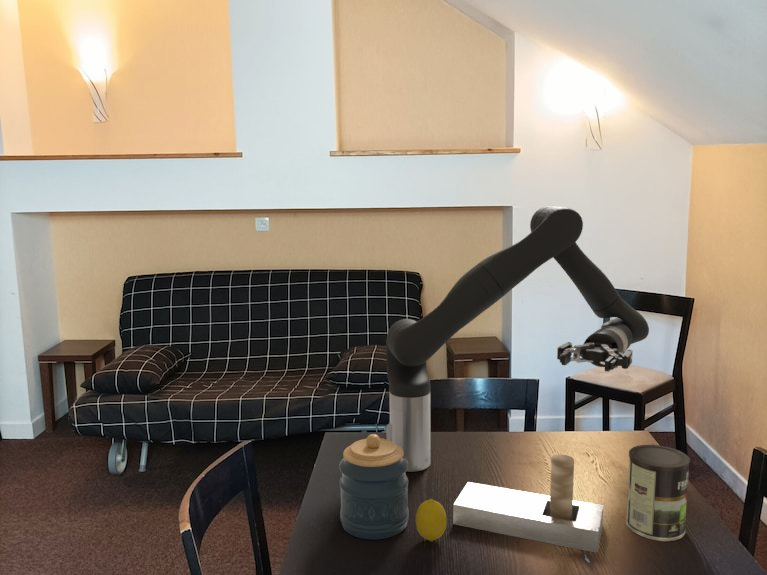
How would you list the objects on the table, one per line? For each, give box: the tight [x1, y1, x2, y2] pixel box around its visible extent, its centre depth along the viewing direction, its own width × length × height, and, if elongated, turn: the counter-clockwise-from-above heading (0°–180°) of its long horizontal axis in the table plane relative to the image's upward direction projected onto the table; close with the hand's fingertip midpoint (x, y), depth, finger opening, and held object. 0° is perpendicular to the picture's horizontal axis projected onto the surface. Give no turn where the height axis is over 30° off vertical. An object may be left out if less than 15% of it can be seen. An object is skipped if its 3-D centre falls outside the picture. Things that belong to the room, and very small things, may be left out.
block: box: [452, 481, 605, 554], centre depth 122 cm, size 26×10×4 cm, turn 67°
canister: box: [338, 433, 410, 541], centre depth 123 cm, size 13×13×18 cm
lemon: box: [415, 498, 448, 542], centre depth 117 cm, size 6×6×8 cm
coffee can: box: [625, 444, 691, 542], centre depth 120 cm, size 10×10×14 cm
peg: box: [549, 454, 575, 521], centre depth 119 cm, size 4×4×14 cm
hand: (584, 363), depth 129 cm, fingers open, 8 cm apart
